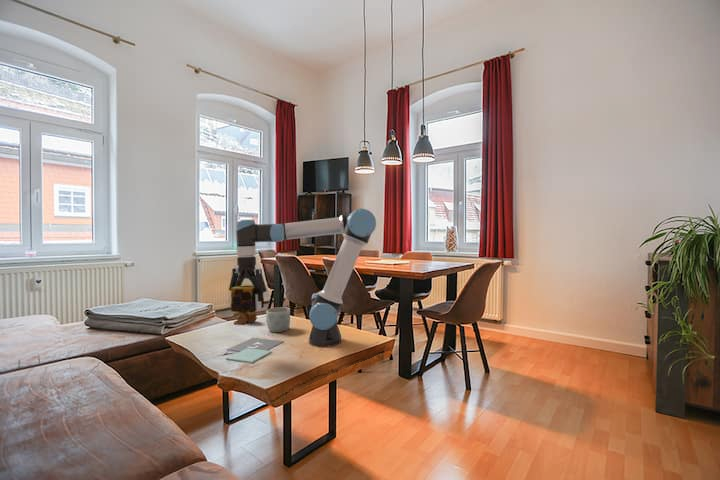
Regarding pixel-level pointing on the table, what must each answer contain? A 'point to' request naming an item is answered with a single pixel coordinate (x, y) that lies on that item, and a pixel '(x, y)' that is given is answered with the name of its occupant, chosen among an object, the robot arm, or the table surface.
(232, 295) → the candle
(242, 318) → the stuffed squirrel
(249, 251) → the robot arm
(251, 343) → the gray mat
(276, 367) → the table surface
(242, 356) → the pad
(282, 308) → the planter
